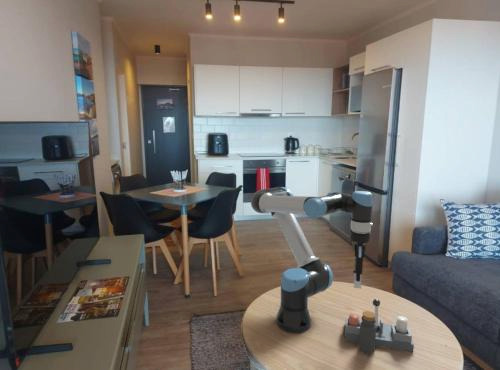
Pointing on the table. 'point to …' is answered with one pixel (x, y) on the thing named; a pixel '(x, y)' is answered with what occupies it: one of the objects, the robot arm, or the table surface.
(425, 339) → the table surface
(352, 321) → the button terracotta
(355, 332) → the panel
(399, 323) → the button ivory
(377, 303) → the lever
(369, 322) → the bottle
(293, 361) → the table surface
